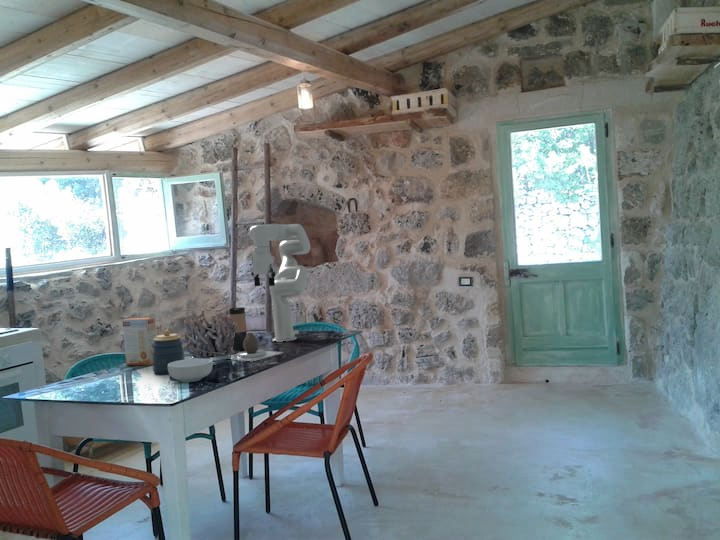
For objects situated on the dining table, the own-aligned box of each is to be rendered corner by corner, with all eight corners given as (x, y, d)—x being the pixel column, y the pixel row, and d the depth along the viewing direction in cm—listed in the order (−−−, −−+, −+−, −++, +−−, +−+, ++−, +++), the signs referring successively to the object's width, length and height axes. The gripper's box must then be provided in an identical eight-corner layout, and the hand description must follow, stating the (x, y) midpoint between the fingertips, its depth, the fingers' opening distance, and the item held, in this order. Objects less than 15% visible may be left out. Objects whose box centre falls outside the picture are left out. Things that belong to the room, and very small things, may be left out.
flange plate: (251, 351, 306) (251, 347, 306) (283, 353, 295) (282, 349, 295) (220, 359, 290) (219, 355, 290) (252, 361, 278) (251, 357, 278)
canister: (174, 375, 260) (171, 332, 260) (147, 375, 264) (143, 332, 263) (191, 368, 273) (188, 327, 272) (165, 368, 277) (162, 327, 276)
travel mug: (249, 347, 319) (246, 307, 318) (245, 350, 311) (242, 308, 310) (234, 348, 319) (231, 307, 318) (229, 350, 312) (226, 309, 311)
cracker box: (159, 363, 290) (155, 317, 289) (149, 366, 285) (145, 319, 284) (135, 362, 296) (131, 317, 295) (125, 365, 291) (121, 319, 290)
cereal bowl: (190, 386, 237) (188, 367, 237) (159, 383, 246) (157, 365, 246) (222, 376, 252) (221, 358, 251) (192, 374, 260) (191, 356, 260)
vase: (243, 354, 289) (241, 334, 288) (244, 351, 296) (243, 332, 295) (258, 353, 289) (257, 333, 289) (259, 350, 296) (258, 331, 296)
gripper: (243, 251, 313) (246, 286, 314) (270, 250, 303) (272, 286, 304) (254, 250, 319) (257, 285, 320) (280, 249, 309) (283, 284, 310)
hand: (264, 285), depth 312 cm, fingers open, 9 cm apart
